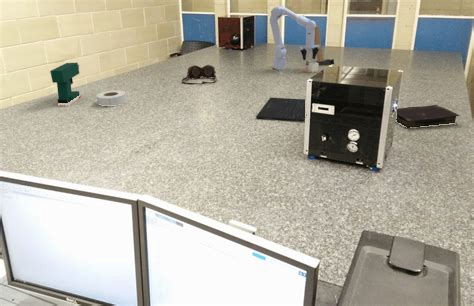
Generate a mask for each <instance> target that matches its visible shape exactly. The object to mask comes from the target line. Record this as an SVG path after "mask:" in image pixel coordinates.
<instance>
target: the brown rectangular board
mask: <svg viewBox="0 0 474 306" xmlns="http://www.w3.org/2000/svg"><path fill="white" fill-rule="evenodd" d="M296 70H297V71H300V72H303V73H306V74H309V75H311V74H317V72H313V73H311V72H309V71H308V66H307V67H300V68H296ZM319 71H321V70H319V69H318V72H319ZM319 73H320V72H319Z"/></svg>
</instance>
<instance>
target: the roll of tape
mask: <svg viewBox="0 0 474 306" xmlns="http://www.w3.org/2000/svg"><path fill="white" fill-rule="evenodd" d="M96 100H97V104H101V105H118V104H122V103H124V102H126V103H127V96H126V92H125V90H119V89H118V90H117V89H116V90H107V91H103V92H100V93H98V94H96Z"/></svg>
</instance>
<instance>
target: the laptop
mask: <svg viewBox="0 0 474 306" xmlns="http://www.w3.org/2000/svg"><path fill="white" fill-rule="evenodd" d="M305 99H306V98H304V99H303V98H286V97H270V98H268V100H267V101H266V103H265V104H264V105H263V107H262V108H261V109H260V110H259V112H258V113H257V114H256V116H255V117H256V119H258V120H271V121H272V120H274V121H285V120H286V121H289V122H296V121H299V122H300V121H303V122H305V121H304V120H305V118H306V117H305Z"/></svg>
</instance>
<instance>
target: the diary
mask: <svg viewBox="0 0 474 306" xmlns="http://www.w3.org/2000/svg"><path fill="white" fill-rule="evenodd" d="M397 108H398V107H397ZM457 117H460V114H458V113H456V112H454V111H452V110H450V109H448V108H445V107H443V106H440V105H438V104H433V105H423V106H422V105H420V106H408V107H407V106H406V107H399V108H398V109H397V119H396V120H397V122H398V123H401V124H402V125H404V126H406V127H407V128H410V127H420V126H429V125H439V124H449V123H456V119H457ZM398 123H397V124H398ZM406 127H405V128H404V129H406Z"/></svg>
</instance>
